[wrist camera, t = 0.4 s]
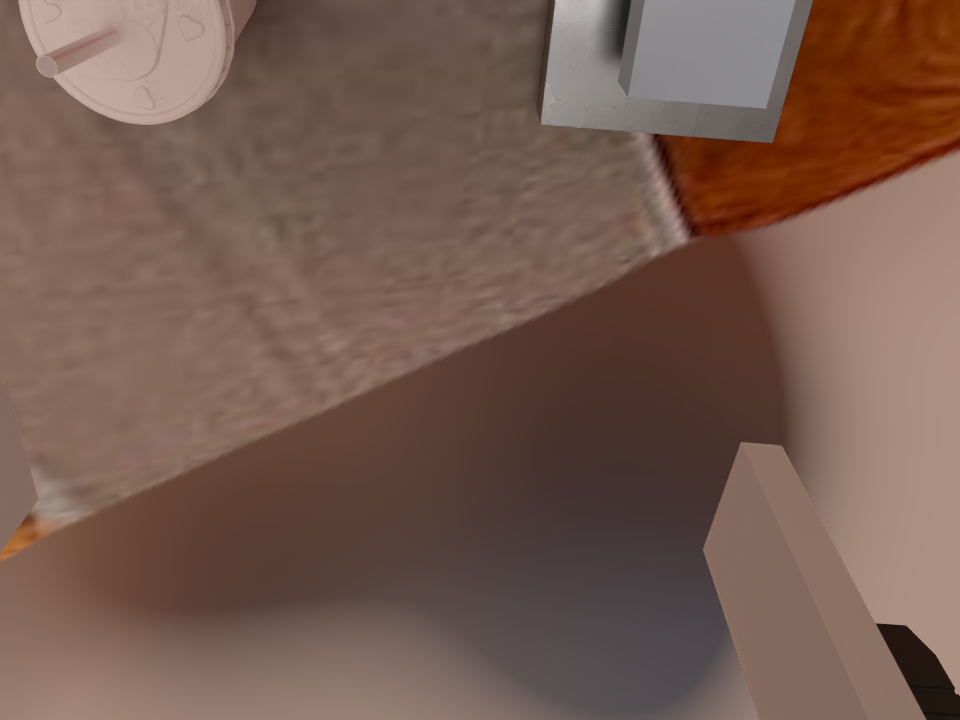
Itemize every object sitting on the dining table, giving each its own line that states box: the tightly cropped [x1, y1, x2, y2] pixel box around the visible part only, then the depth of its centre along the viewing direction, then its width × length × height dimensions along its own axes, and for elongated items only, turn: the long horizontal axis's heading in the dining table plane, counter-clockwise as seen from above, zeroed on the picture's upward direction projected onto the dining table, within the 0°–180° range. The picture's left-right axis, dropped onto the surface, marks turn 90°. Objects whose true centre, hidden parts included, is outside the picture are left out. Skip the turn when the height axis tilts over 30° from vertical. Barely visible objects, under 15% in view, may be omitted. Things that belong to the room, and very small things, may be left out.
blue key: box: [618, 0, 795, 109], centre depth 28 cm, size 5×5×5 cm
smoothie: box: [19, 0, 257, 125], centre depth 26 cm, size 6×6×14 cm
